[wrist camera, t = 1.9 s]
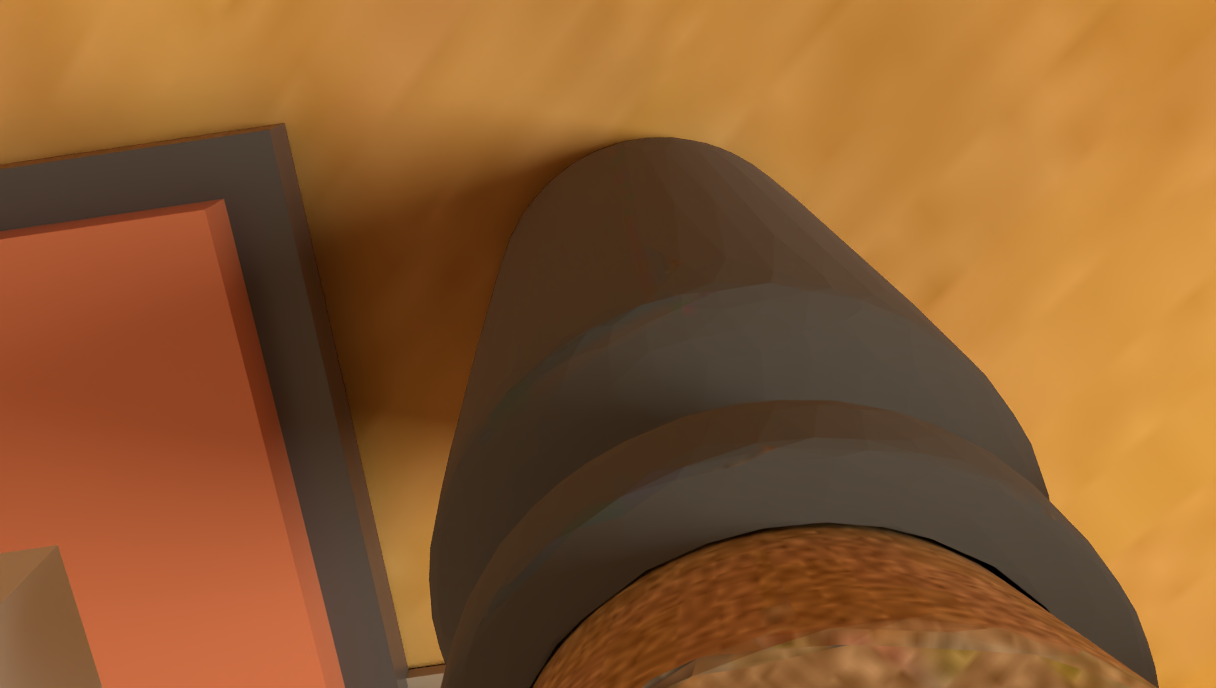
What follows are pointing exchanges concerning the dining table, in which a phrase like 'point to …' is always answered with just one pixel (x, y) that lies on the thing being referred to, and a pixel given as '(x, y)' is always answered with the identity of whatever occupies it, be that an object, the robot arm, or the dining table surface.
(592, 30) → the dining table surface
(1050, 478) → the dining table surface
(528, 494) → the cork-lidded jar
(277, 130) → the ink pad
